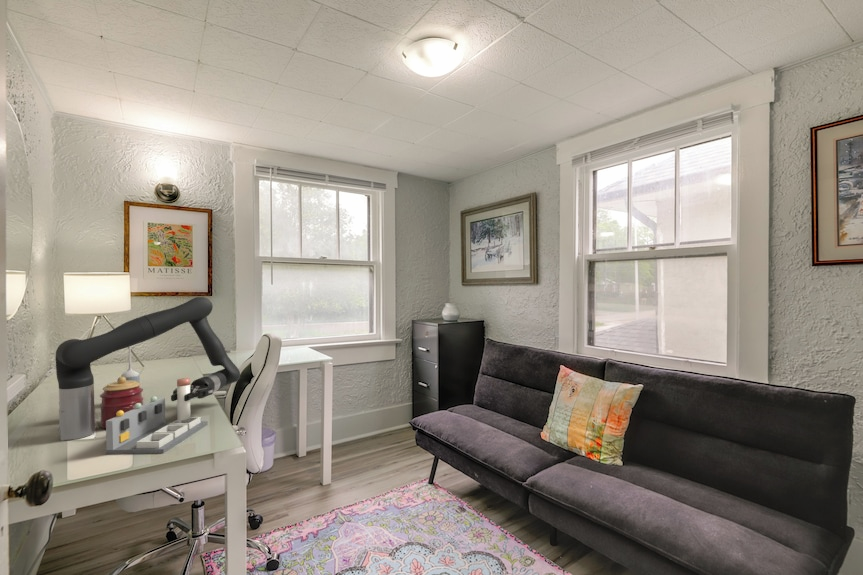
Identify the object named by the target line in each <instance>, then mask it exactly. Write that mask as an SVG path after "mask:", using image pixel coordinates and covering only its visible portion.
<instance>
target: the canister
mask: <svg viewBox="0 0 863 575" xmlns="http://www.w3.org/2000/svg"><path fill="white" fill-rule="evenodd" d="M139 385H140V387H139ZM102 390H103V392H102V393H101V394H100V395H99V397H100V398H101V403H100V404H99V405H100V426H101V428H102V427H103V428H102V429H104V428H106V421H107V420H109V419H112V418H114V417H116V413H117V412H118V411H120V410H122V411H123V412H124V413H126V412H128V411H130V410H132V409H135V407H134V406H135V404H136V403H141V405H144V397H143V395H142V393H143V391H144V389H143V388H142V387H141V383H138V382H136V381H134V380H126V378H125V377H121V376H119V377H117V380H116V381H114V382H111V383H108V384H107V385H105V386H104V387H103V388H102Z"/></svg>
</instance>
